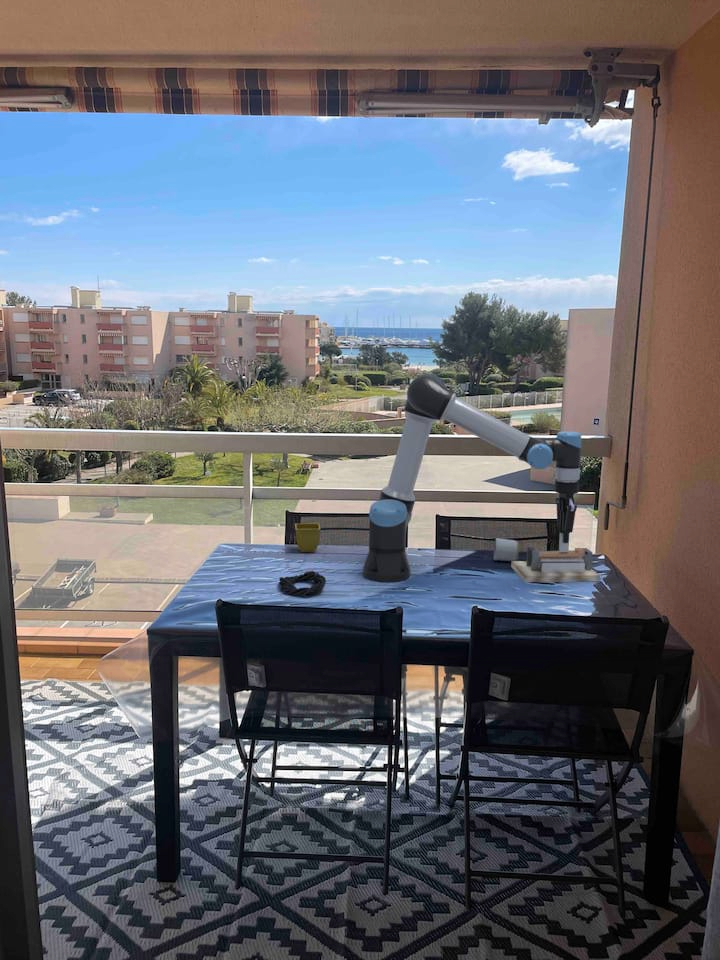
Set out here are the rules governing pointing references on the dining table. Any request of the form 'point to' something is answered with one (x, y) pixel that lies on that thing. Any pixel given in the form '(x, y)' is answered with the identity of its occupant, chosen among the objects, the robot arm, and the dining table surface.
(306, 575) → the cable
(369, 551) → the robot arm
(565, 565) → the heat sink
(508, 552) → the ceramic mug
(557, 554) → the strap
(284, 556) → the dining table surface
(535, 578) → the board
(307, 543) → the flower pot
